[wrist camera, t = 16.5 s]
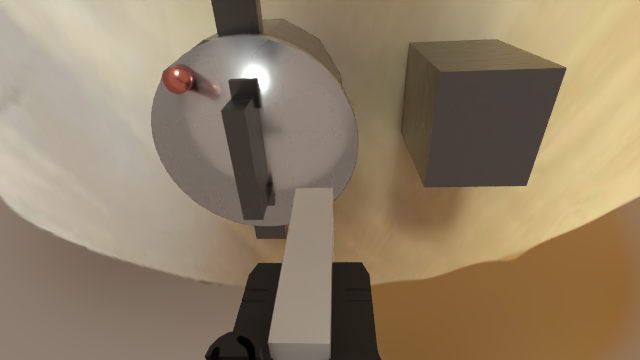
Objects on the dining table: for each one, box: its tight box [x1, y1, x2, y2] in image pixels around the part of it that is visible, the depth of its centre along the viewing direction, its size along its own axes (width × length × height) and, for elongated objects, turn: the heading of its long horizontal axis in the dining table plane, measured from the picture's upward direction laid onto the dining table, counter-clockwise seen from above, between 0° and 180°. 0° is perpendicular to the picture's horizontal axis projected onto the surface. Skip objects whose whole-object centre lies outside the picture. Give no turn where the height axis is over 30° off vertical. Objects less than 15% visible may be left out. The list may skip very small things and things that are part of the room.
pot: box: [161, 0, 340, 239], centre depth 26 cm, size 21×12×10 cm, turn 2°
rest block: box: [401, 40, 566, 187], centre depth 25 cm, size 8×7×10 cm
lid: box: [151, 34, 358, 226], centre depth 20 cm, size 13×13×4 cm
